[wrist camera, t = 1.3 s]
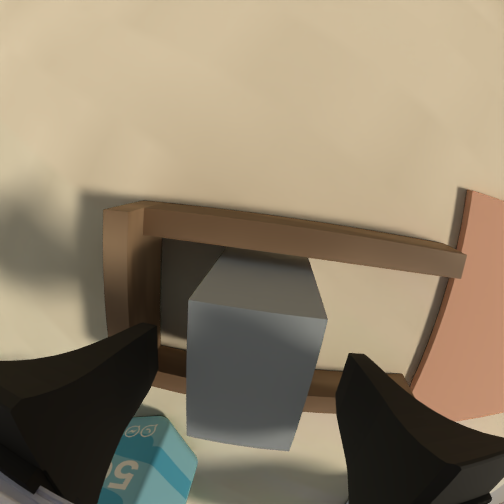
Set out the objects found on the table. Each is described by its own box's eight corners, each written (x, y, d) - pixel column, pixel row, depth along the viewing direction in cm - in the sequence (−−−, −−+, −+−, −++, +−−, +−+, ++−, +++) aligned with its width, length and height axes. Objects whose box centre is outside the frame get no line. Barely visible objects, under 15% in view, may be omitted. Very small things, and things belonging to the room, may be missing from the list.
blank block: (288, 357, 17) (289, 451, 10) (218, 347, 17) (186, 435, 10) (307, 256, 15) (327, 319, 8) (228, 245, 15) (188, 299, 9)
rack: (395, 388, 17) (414, 429, 13) (143, 356, 17) (116, 394, 14) (443, 243, 14) (484, 263, 10) (143, 200, 15) (103, 209, 11)
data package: (175, 412, 19) (113, 555, 7) (202, 451, 19) (164, 581, 8) (68, 417, 21) (2, 504, 9) (95, 451, 21) (43, 537, 10)
